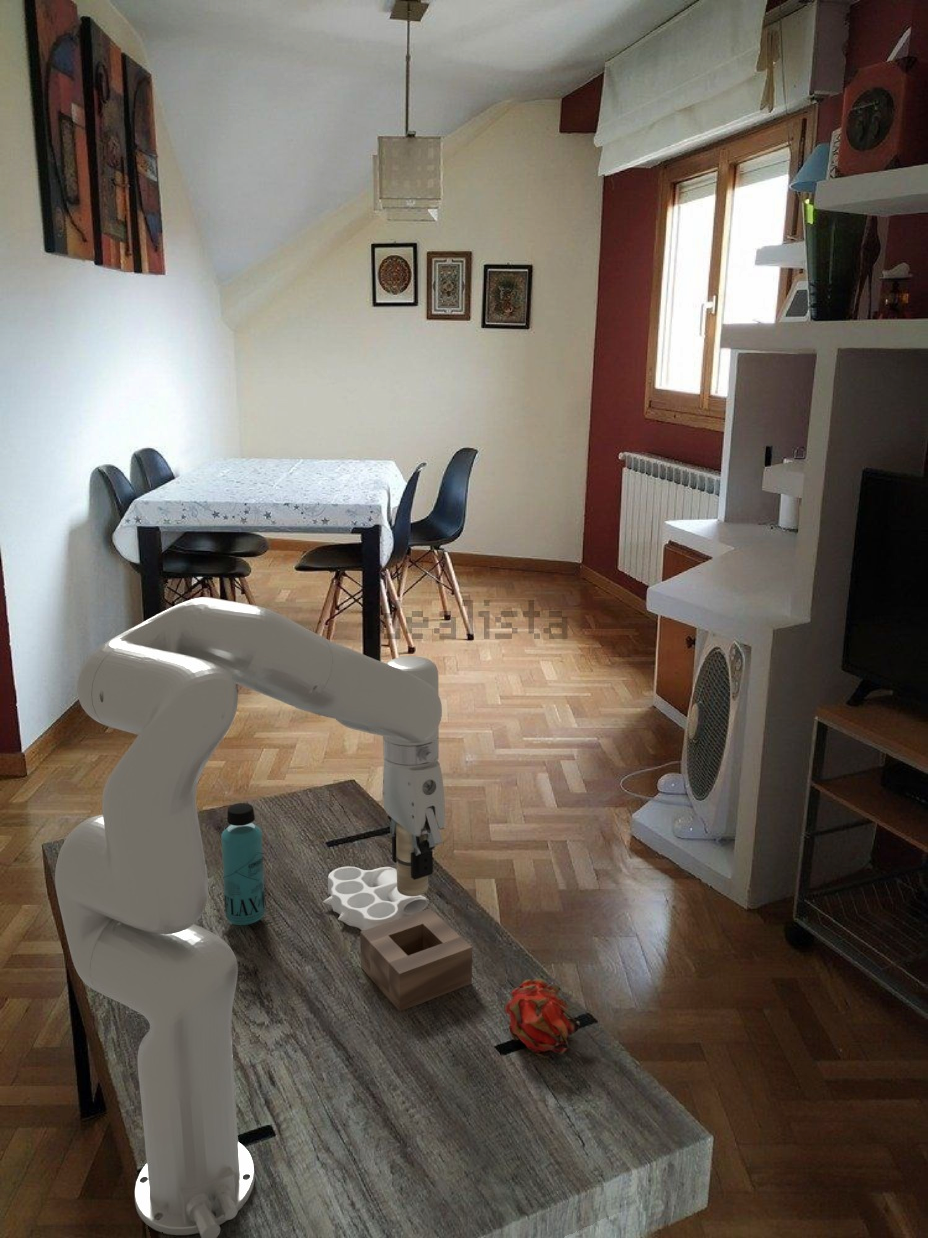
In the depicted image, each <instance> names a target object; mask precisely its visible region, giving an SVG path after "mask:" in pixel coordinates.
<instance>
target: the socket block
mask: <svg viewBox="0 0 928 1238" xmlns="http://www.w3.org/2000/svg"><path fill="white" fill-rule="evenodd" d="M359 933H360V934H359V936H360V937H359V938H360V939H359V940H360V968H361V970H363V972H364V974H366V975H367V976H368V977H369V978H370V980H371V981H372V982H373V983H374V984H375V985H376V987H377V988H378V989H380V991H381V992H382V993H383V994H384V995H385V996H386V998H387V1000H389V1002H390V1003H392V1005H393V1006H394V1007H395V1008H396V1009H397V1010H398V1011H399V1012H403V1011H405V1010H407V1009H411V1008H412V1007H416V1006H418V1005H420V1004H424V1003H425V1002H429V1001H431V1000H433V999H436V998H438V997H441V996H444V995H446V994H449V993H451V992H454V991H456V990H459V989H461V988H464V987H466V986H469V985H472V983H473V982H472V981H473V973H472V972H473V947H472V945H471V944H470V943H468V942H467V941H466V940H465V939H464V938H463V937H462V936H461V935H459V934H458V933H457V932H456V930H454V929H453V928H452V927H451V926H450V924H448V923H446V922H445V920H443V919H442V917H441V916H439V915H438V914H437V913H436V912H434V911H433V910H432V909H431V908H427V909H426V908H425V909H424V910H422V911H420V912H417V913H414V914H411V915H408V916H405V917H402V918H400V919H397V920H394V921H391V922H388V923H385V924H382V925H379V926H376V927H373V928H370V929H367V930H364V931H362V930H361V931H359Z"/></svg>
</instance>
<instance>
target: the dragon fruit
mask: <svg viewBox="0 0 928 1238" xmlns="http://www.w3.org/2000/svg"><path fill="white" fill-rule="evenodd" d="M560 990H561V987H560V986H559V985H557V984H551V985H550V986H548V983H547V981H546V980H544V979H543V978H539V977H537V978H535V979H533V980H532V979H530V978H526V979H525V980H523V982H522V983H521V984H519V986H517V987H515V988H514V989H513V990H512V991H511V992H510V994H511V996H512V997H513V998H512V999H511V1000H510V1001H509V1000H508V1001H507V1002H506V1004H504V1010H503V1012H504V1013H506V1014H508V1015H509V1020H510V1021H509V1032H510V1035H511V1037H512V1039H513V1040H514V1041H518V1040H520V1041H521V1042H522V1043H523V1044H524V1045H525V1046H526V1047H527V1049H529V1050H530V1051H531V1052H532V1054H533V1055H537V1056H538V1057H540V1058H545V1059H550V1057H549V1056H548V1055H547V1051H552V1052H555V1053H558V1054H559V1055H563V1054H564V1053H565V1051H566V1050H568V1049H569V1044H568V1043H569V1042H571V1039H570V1036H572V1034H575V1033H577V1031H578V1030H579V1027H580V1024H581V1023H580V1021H578V1020H576V1019H575V1017H574V1016H572V1015H570V1010H569V1009H568V1008H569V1007H570V1005H569V1004H568V1002H567V1000H564V999H562V998H559V997H558V995H559V992H560Z"/></svg>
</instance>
